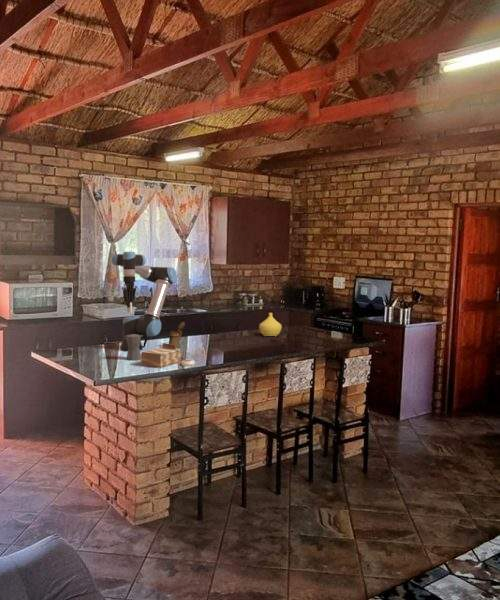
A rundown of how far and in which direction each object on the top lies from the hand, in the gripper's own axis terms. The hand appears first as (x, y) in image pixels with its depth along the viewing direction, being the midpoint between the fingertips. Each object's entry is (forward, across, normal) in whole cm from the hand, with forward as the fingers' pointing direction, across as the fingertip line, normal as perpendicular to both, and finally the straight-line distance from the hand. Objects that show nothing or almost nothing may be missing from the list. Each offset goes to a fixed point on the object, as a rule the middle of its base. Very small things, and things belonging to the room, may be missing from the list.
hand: (129, 312), depth 359 cm
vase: (+30, -128, +45) cm, 139 cm away
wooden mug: (+30, -47, +6) cm, 56 cm away
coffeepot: (+29, +4, +8) cm, 31 cm away
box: (+29, +8, +30) cm, 42 cm away
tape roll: (+29, +3, +46) cm, 54 cm away
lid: (+22, +8, +30) cm, 38 cm away
